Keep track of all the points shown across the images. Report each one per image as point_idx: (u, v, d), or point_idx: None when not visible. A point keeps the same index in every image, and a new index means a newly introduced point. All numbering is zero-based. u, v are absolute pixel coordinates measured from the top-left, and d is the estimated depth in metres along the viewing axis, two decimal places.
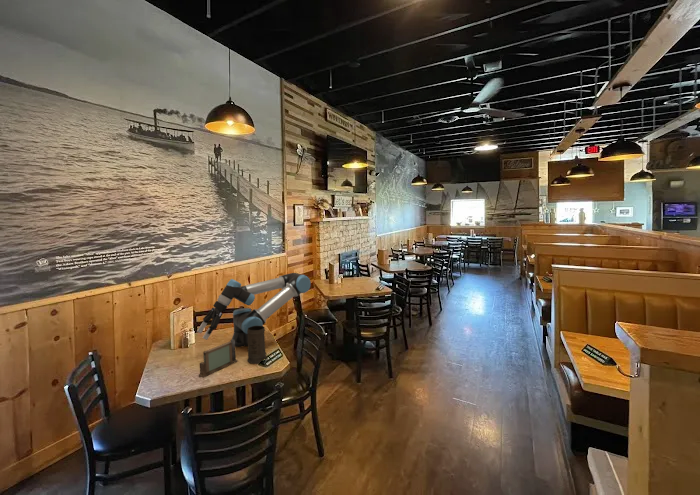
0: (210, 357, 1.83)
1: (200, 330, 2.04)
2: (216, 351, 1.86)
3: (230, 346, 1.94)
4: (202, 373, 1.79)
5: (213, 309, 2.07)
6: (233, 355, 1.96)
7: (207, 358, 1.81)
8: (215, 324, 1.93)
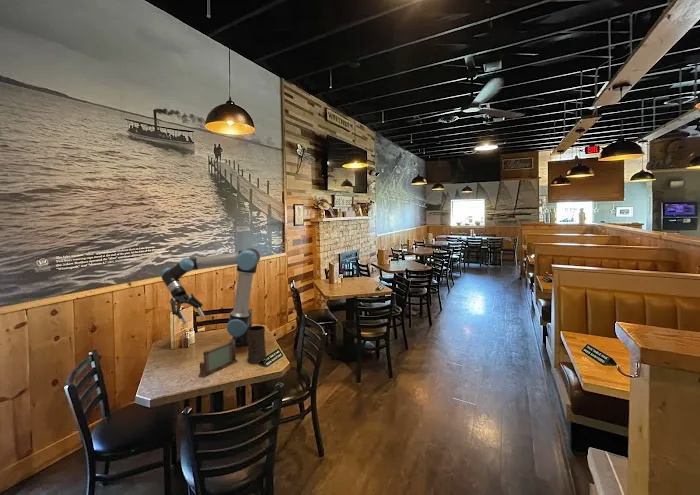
0: (210, 357, 1.83)
1: (201, 315, 2.01)
2: (216, 351, 1.86)
3: (230, 346, 1.94)
4: (202, 373, 1.79)
5: None
6: (233, 355, 1.96)
7: (207, 358, 1.81)
8: (172, 310, 1.92)
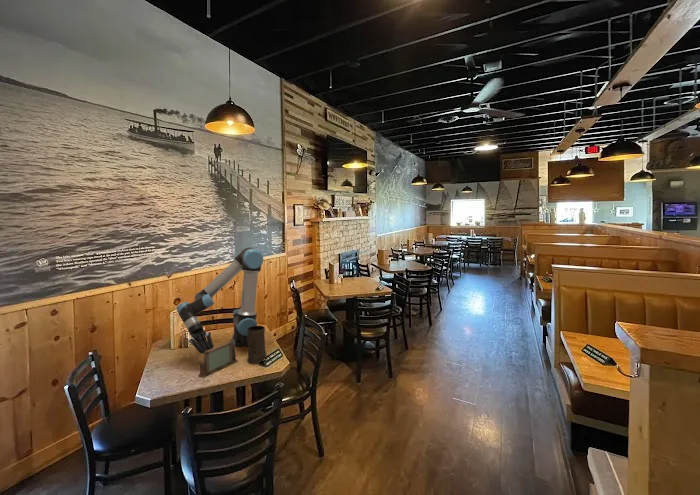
0: (210, 357, 1.83)
1: None
2: (216, 351, 1.86)
3: (230, 346, 1.94)
4: (202, 373, 1.79)
5: None
6: (233, 355, 1.96)
7: (207, 358, 1.81)
8: (198, 349, 1.87)
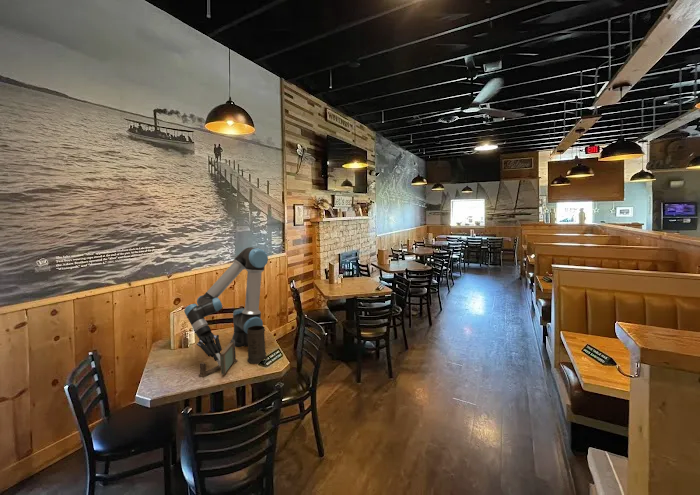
0: (225, 358, 1.81)
1: None
2: (227, 352, 1.85)
3: (233, 346, 1.94)
4: (202, 373, 1.79)
5: None
6: None
7: (224, 359, 1.79)
8: (206, 352, 1.83)
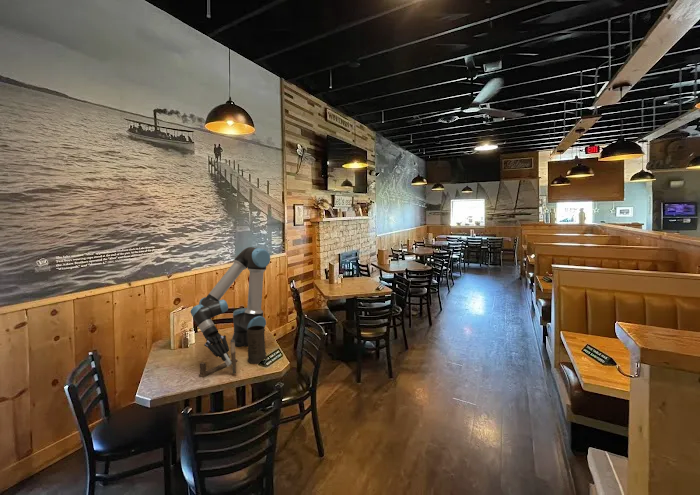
0: None
1: None
2: None
3: None
4: (202, 373, 1.79)
5: None
6: None
7: (235, 358, 1.81)
8: (214, 353, 1.82)
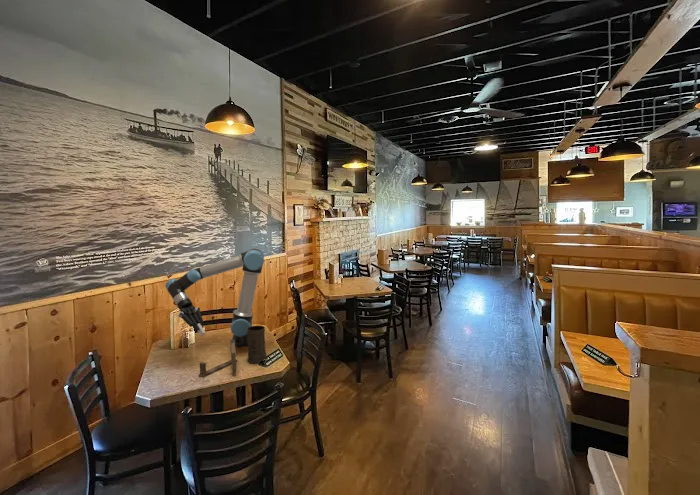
0: None
1: None
2: None
3: None
4: (202, 373, 1.79)
5: None
6: None
7: (235, 358, 1.81)
8: (188, 323, 1.91)
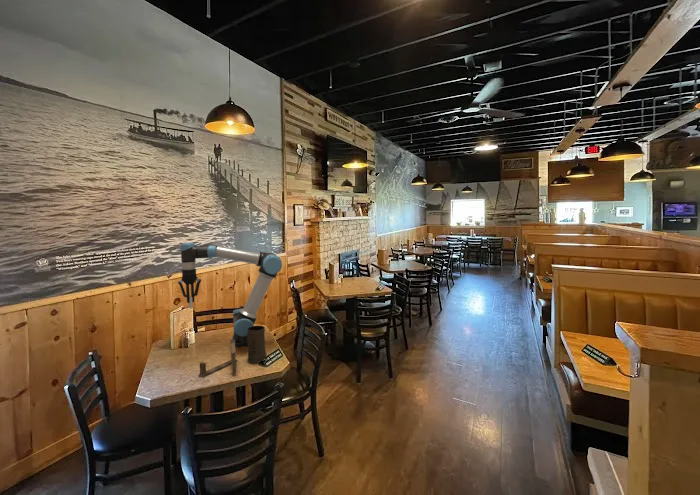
0: None
1: None
2: None
3: None
4: (202, 373, 1.79)
5: None
6: None
7: (235, 358, 1.81)
8: (182, 293, 1.99)
